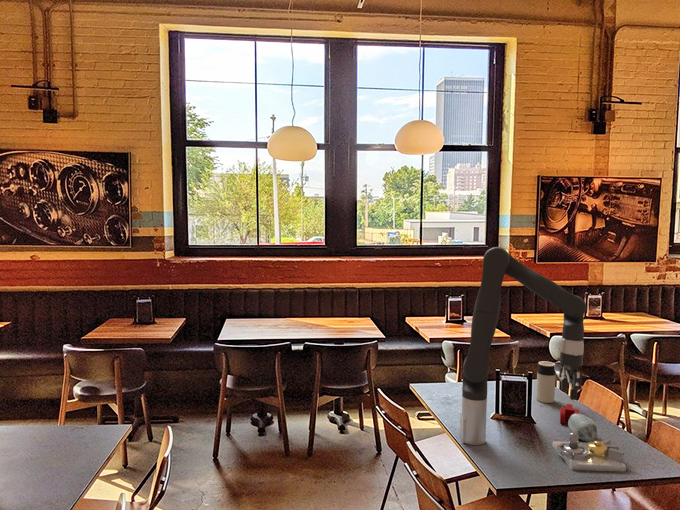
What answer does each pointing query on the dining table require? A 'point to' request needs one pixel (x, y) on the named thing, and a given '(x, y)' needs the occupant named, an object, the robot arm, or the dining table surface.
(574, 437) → the silver knob
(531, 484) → the dining table surface
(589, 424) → the streaked stone egg
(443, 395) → the dining table surface
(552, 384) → the travel mug
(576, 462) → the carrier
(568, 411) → the mechanical linkage
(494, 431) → the dining table surface
